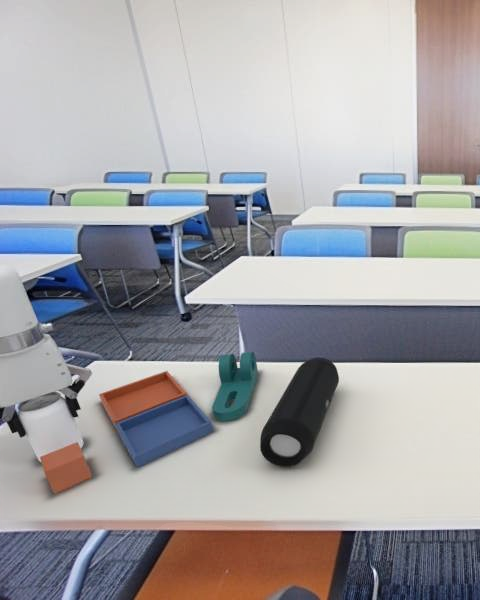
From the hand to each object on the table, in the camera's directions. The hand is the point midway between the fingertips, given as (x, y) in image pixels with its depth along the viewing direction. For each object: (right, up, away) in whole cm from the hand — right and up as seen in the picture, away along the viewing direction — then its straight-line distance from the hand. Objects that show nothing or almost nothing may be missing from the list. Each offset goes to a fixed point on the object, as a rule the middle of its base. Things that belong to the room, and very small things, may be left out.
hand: (49, 422), depth 74 cm
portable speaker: (+43, -4, +13) cm, 45 cm away
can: (0, -7, +3) cm, 7 cm away
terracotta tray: (+5, -1, +17) cm, 18 cm away
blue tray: (+15, -5, +9) cm, 18 cm away
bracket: (+24, 0, +20) cm, 31 cm away
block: (+6, -9, -3) cm, 11 cm away
